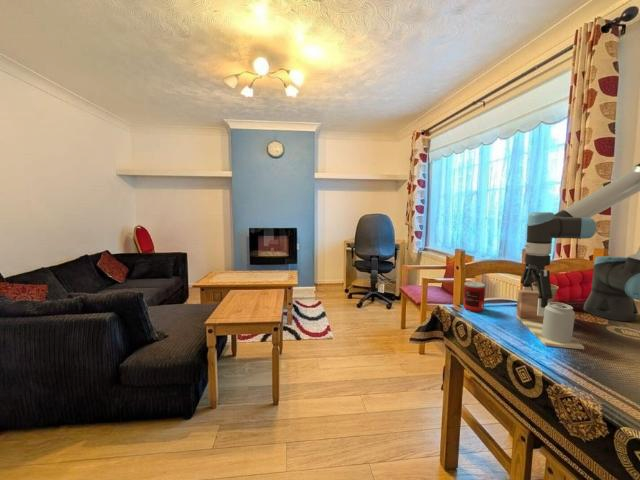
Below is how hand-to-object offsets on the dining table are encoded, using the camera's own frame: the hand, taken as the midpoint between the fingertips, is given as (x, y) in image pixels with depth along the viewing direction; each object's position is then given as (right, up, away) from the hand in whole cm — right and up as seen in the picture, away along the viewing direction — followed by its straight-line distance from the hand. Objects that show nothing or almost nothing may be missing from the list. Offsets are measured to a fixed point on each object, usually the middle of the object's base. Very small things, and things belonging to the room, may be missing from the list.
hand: (533, 308), depth 109 cm
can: (-5, -7, -16) cm, 18 cm away
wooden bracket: (-3, -5, -9) cm, 11 cm away
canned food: (-16, -3, +12) cm, 21 cm away
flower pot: (+16, -2, +16) cm, 22 cm away
